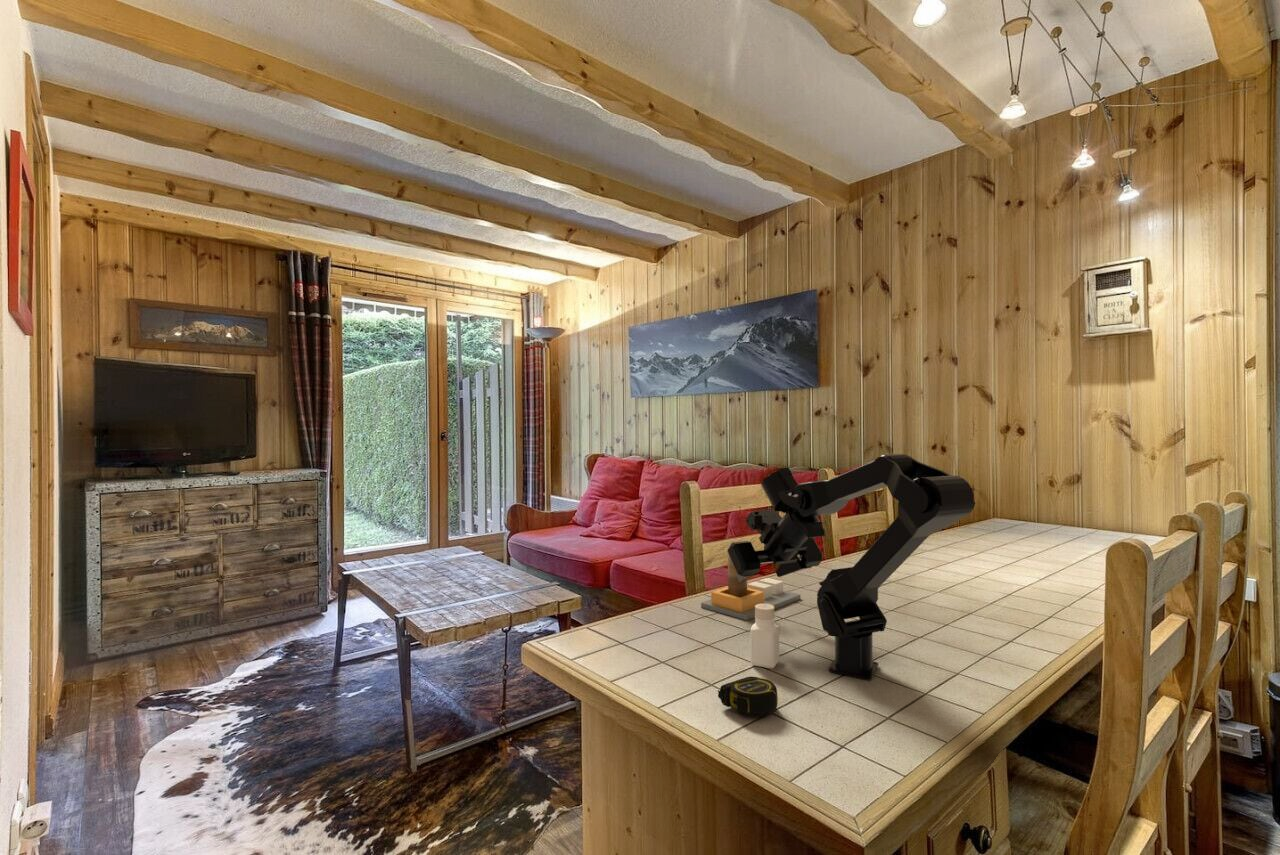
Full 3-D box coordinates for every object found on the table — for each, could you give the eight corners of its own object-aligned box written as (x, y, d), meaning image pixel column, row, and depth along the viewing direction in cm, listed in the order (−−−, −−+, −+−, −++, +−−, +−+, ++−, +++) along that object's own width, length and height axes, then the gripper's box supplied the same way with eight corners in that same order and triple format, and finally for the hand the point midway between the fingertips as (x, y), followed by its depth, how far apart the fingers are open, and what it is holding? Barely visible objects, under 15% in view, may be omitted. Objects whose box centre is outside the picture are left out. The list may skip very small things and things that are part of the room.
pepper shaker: (756, 657, 101) (756, 601, 100) (780, 661, 99) (779, 604, 99) (749, 666, 97) (749, 608, 97) (774, 670, 95) (773, 611, 95)
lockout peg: (739, 607, 124) (738, 548, 124) (724, 603, 127) (723, 545, 127) (751, 603, 127) (750, 545, 126) (736, 599, 130) (735, 542, 129)
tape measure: (754, 695, 87) (754, 670, 87) (788, 714, 81) (788, 687, 81) (717, 707, 84) (717, 680, 84) (750, 728, 78) (750, 699, 78)
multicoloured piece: (746, 620, 119) (746, 603, 119) (701, 607, 128) (700, 591, 128) (800, 598, 133) (800, 583, 133) (755, 588, 141) (755, 573, 141)
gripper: (812, 494, 118) (779, 540, 128) (731, 500, 111) (703, 548, 121) (840, 541, 111) (803, 585, 121) (756, 550, 104) (724, 597, 114)
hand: (758, 577), depth 120 cm, fingers open, 9 cm apart
